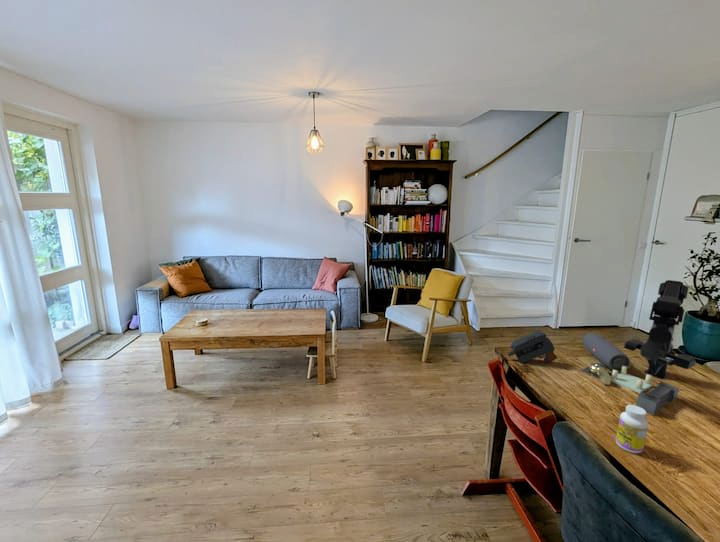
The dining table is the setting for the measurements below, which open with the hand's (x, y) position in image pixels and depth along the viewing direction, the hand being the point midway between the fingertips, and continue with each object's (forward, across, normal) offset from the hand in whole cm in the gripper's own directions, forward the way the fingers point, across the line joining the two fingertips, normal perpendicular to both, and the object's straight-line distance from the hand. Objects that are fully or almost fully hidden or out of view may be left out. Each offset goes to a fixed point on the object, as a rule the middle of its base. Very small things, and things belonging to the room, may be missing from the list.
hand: (653, 374), depth 122 cm
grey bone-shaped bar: (+11, +2, +1) cm, 11 cm away
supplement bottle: (+11, +9, -33) cm, 36 cm away
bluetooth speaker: (+11, -25, +18) cm, 33 cm away
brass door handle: (+10, -18, +2) cm, 21 cm away
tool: (+11, -41, -10) cm, 44 cm away
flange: (+11, -20, +5) cm, 24 cm away
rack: (+11, -9, +8) cm, 17 cm away
